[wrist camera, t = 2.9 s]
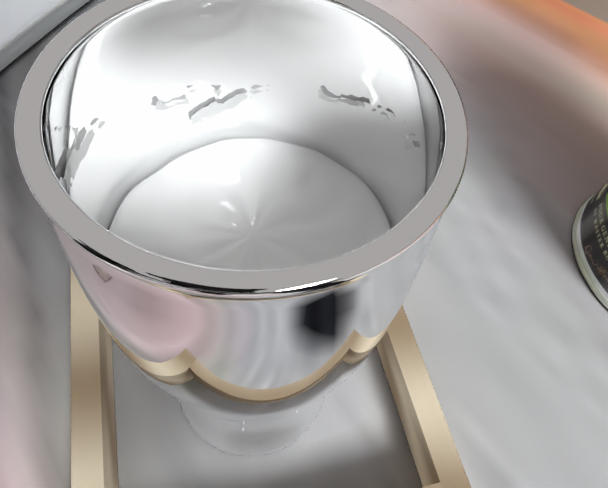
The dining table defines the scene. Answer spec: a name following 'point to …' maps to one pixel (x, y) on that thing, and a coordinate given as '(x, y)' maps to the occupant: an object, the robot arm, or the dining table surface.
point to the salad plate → (29, 23)
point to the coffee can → (593, 243)
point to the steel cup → (242, 192)
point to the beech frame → (101, 405)
